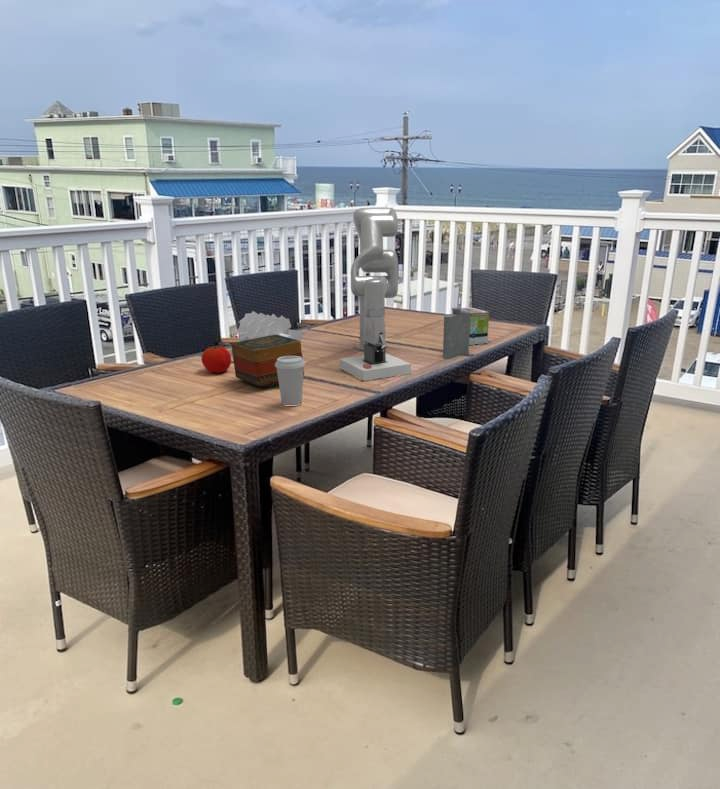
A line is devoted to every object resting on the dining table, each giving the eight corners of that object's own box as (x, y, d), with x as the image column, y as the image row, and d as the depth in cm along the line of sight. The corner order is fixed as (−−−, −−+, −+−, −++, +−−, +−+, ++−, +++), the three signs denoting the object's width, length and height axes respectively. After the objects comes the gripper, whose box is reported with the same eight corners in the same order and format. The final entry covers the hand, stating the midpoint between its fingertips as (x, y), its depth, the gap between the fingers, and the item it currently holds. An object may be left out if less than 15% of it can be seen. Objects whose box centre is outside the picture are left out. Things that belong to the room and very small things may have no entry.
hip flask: (447, 359, 249) (449, 311, 243) (439, 357, 252) (441, 309, 246) (469, 352, 260) (472, 306, 254) (462, 351, 263) (463, 305, 257)
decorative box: (307, 386, 218) (308, 341, 214) (248, 391, 207) (248, 342, 203) (284, 376, 235) (285, 333, 231) (229, 379, 224) (229, 335, 221)
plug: (364, 364, 234) (363, 344, 231) (377, 362, 236) (377, 342, 234) (371, 368, 228) (371, 347, 226) (385, 366, 231) (385, 345, 229)
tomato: (229, 366, 243) (227, 341, 240) (234, 374, 232) (232, 348, 229) (200, 369, 239) (198, 343, 236) (204, 377, 228) (202, 350, 225)
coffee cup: (307, 398, 202) (305, 354, 197) (305, 408, 192) (304, 362, 188) (278, 399, 201) (276, 355, 197) (275, 408, 192) (272, 362, 188)
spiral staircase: (282, 370, 252) (242, 358, 266) (309, 345, 261) (269, 335, 276) (267, 334, 240) (226, 324, 255) (295, 310, 249) (255, 301, 264)
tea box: (488, 343, 276) (490, 311, 271) (469, 345, 272) (470, 313, 268) (470, 337, 289) (472, 306, 285) (452, 339, 286) (453, 307, 281)
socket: (340, 368, 237) (339, 356, 236) (384, 362, 246) (384, 350, 244) (363, 381, 220) (363, 368, 219) (410, 374, 229) (411, 361, 227)
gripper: (355, 310, 232) (355, 356, 237) (376, 317, 217) (377, 366, 223) (372, 308, 235) (372, 353, 241) (395, 315, 220) (394, 363, 226)
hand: (374, 359), depth 232 cm, fingers closed on plug, 5 cm apart
